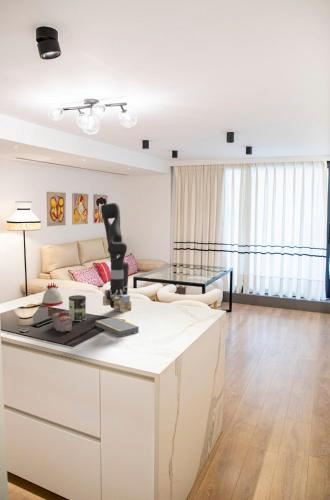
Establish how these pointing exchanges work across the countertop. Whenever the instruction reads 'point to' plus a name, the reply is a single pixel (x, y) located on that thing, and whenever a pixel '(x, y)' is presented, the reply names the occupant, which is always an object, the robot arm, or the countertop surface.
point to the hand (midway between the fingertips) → (116, 306)
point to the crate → (125, 298)
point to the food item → (61, 322)
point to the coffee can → (77, 307)
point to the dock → (117, 326)
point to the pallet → (118, 304)
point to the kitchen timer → (52, 296)
